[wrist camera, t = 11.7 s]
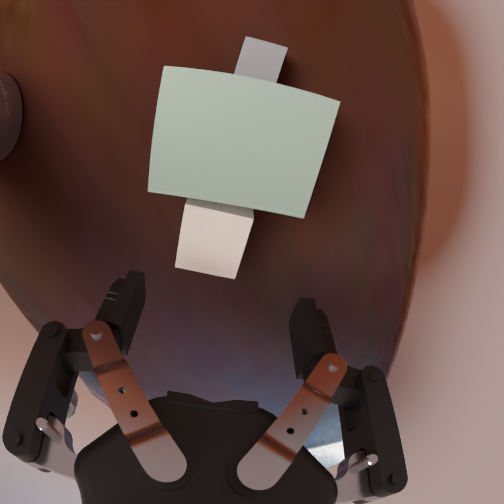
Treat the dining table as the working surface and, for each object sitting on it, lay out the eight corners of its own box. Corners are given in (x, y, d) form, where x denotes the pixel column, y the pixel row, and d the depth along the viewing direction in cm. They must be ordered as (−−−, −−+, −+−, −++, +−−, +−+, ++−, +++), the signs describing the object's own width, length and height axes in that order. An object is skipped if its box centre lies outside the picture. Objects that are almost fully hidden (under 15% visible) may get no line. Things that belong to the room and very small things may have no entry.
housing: (187, 70, 16) (164, 65, 11) (310, 95, 18) (340, 101, 12) (172, 160, 20) (147, 191, 15) (286, 180, 22) (303, 218, 16)
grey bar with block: (232, 40, 15) (230, 26, 11) (293, 56, 16) (309, 48, 12) (183, 243, 25) (173, 279, 20) (232, 253, 25) (231, 291, 21)
